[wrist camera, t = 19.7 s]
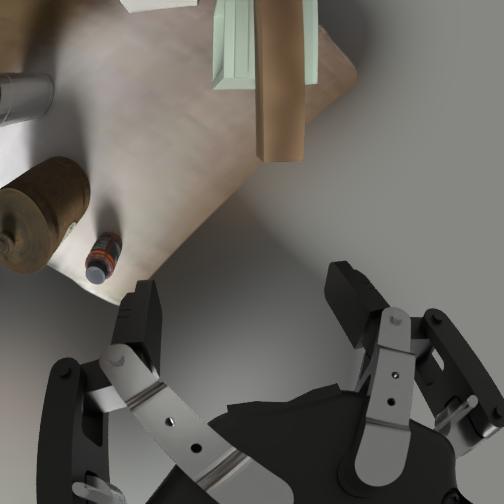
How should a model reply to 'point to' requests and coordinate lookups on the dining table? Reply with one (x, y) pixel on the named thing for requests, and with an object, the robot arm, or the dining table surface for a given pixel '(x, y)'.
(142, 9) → the shelf stand
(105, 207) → the dining table surface
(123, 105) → the dining table surface
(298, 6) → the hook bar
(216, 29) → the rest stand
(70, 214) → the wooden container
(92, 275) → the supplement bottle
